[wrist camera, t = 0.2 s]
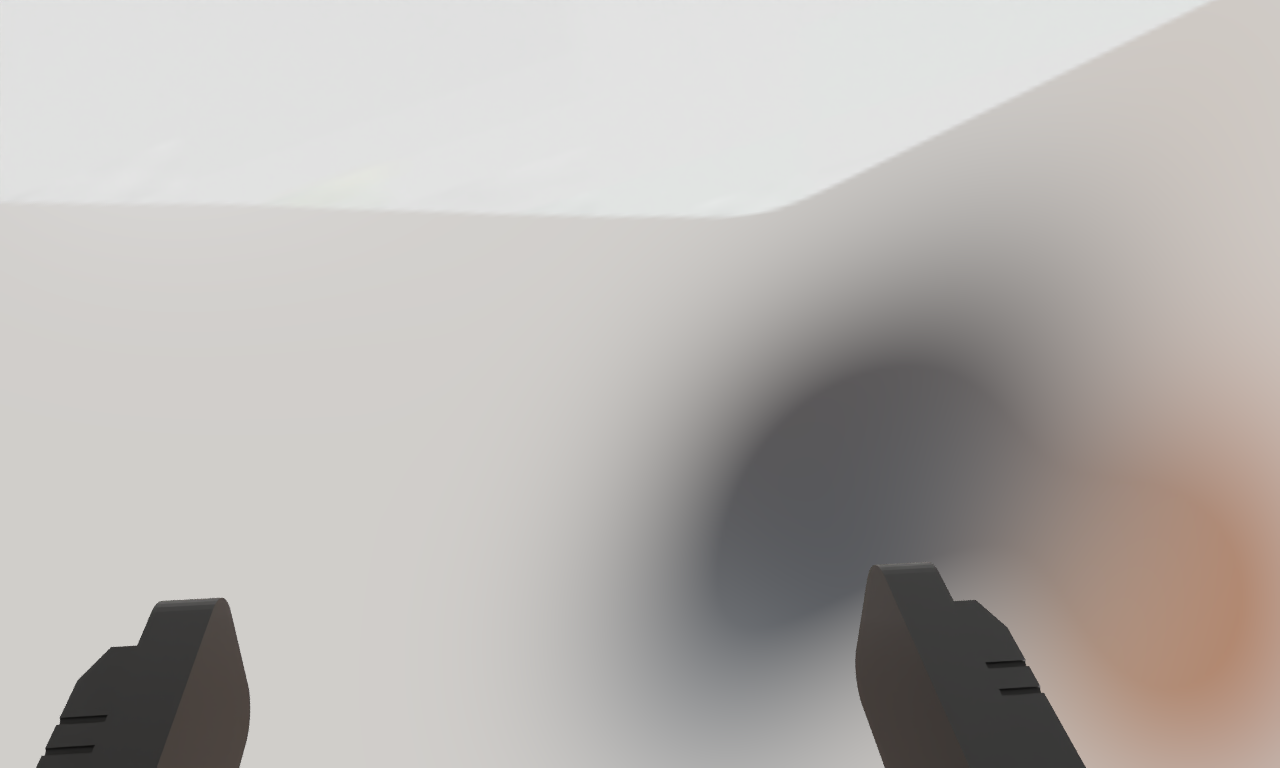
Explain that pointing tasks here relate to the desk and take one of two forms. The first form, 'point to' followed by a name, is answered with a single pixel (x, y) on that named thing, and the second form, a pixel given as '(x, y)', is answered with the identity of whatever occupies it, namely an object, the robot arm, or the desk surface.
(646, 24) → the desk surface
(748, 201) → the desk surface
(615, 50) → the desk surface
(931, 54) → the desk surface
